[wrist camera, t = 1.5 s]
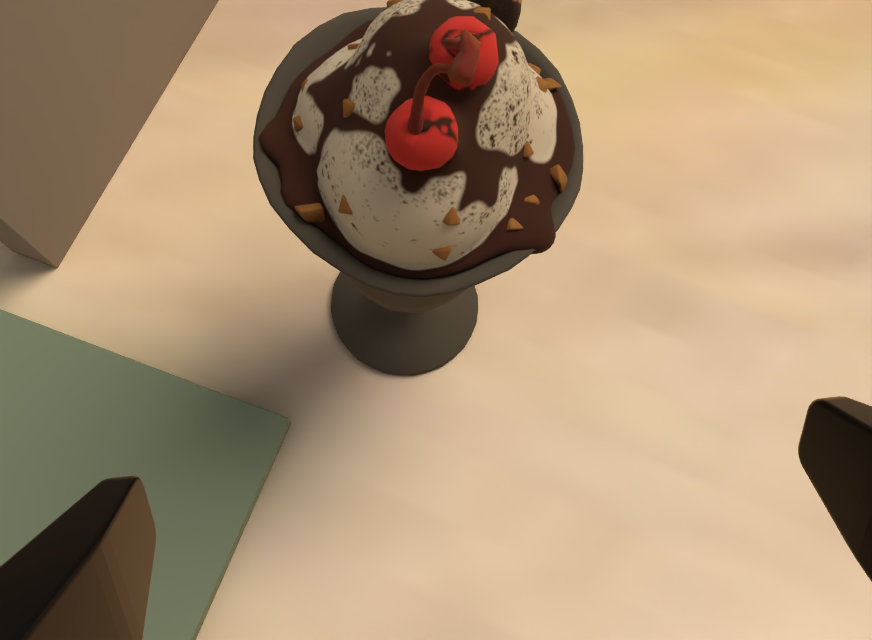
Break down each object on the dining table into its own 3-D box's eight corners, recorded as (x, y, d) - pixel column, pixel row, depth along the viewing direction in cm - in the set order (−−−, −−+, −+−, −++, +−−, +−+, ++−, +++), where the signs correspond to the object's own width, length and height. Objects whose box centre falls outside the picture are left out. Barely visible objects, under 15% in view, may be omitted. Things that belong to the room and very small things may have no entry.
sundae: (396, 445, 22) (424, 252, 8) (265, 293, 23) (85, -114, 9) (543, 318, 24) (788, -30, 9) (414, 182, 25) (459, -304, 11)
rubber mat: (102, 851, 18) (93, 861, 17) (-310, 681, 19) (-331, 685, 18) (291, 422, 22) (288, 419, 21) (-55, 290, 22) (-66, 284, 22)
